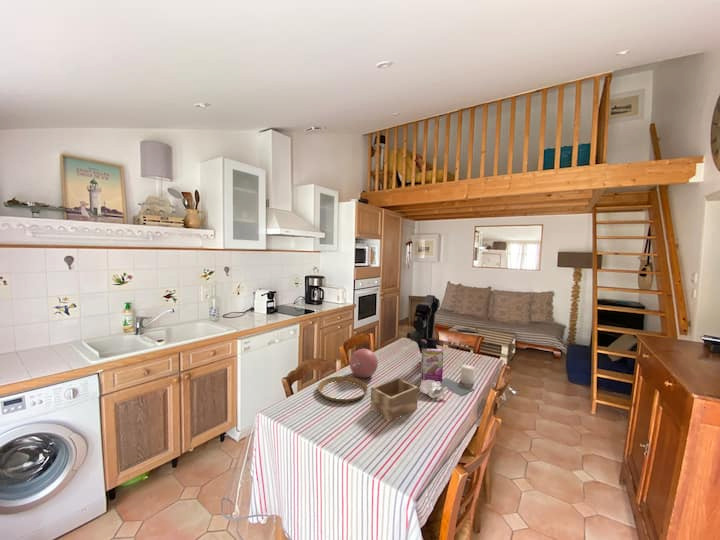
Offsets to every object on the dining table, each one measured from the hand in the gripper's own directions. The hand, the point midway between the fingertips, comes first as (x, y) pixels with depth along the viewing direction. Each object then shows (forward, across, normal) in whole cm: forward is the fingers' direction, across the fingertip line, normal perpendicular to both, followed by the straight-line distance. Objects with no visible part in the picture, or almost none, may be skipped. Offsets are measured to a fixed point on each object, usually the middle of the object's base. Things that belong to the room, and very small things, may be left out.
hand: (421, 353), depth 169 cm
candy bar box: (+12, +8, 0) cm, 15 cm away
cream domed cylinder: (+13, +21, +14) cm, 28 cm away
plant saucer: (+13, -9, -48) cm, 51 cm away
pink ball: (+13, -17, -30) cm, 37 cm away
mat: (+12, +20, 0) cm, 23 cm away
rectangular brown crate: (+12, +17, -39) cm, 44 cm away
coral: (+11, +18, -21) cm, 29 cm away
